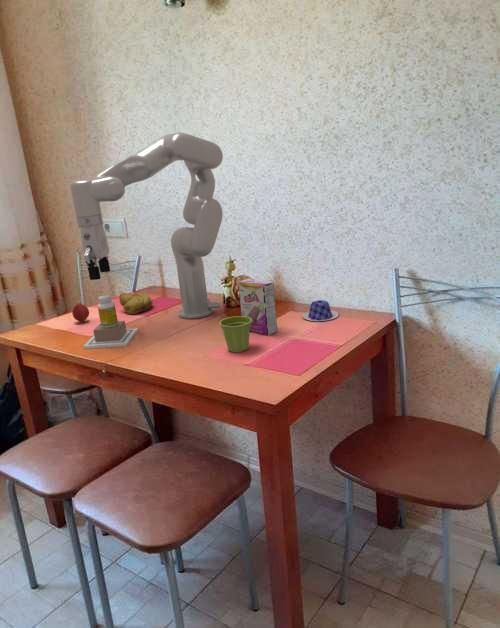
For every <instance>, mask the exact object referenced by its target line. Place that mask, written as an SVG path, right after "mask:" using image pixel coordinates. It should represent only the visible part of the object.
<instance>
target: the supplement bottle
mask: <svg viewBox="0 0 500 628" xmlns="http://www.w3.org/2000/svg"><path fill="white" fill-rule="evenodd" d="M97 311H98V315H99V322H100V323H101V326H102V327H103V328H109V327H114V326H116V325H117V324H118V321H119V320H118V315H117V309H116V304H115V302H113V301H112V296H111V295H108V294H106V295H100V296H98V305H97Z"/></svg>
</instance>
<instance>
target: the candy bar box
mask: <svg viewBox="0 0 500 628" xmlns="http://www.w3.org/2000/svg"><path fill="white" fill-rule="evenodd" d="M237 285H238V293H239V294H238V295H239V304H240V305H239V306H240V313H241V316H245V317H249V318H251V319H252V322H251V324H250V331H249V333H255V334H259V335H263V336H267V337H269V336H271V335H273V334H275V333H277V332H278V321H277V320H278V319H277V311H276V310H277V309H276V296H275V284H274V281H268V280H261V279H260V280H259V279H253V278H245V279H241V280H239V281H238V282H237Z"/></svg>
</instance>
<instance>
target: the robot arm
mask: <svg viewBox="0 0 500 628" xmlns="http://www.w3.org/2000/svg"><path fill="white" fill-rule="evenodd" d="M223 158H224V155H223V150H222V149H221V147H220V146H219V145H218V143H217V144H216V143H215V142H213V141H210V140H207V139H204V138H201V137H198V136H194V135H191V134H189V133H185V132H175V133H170V134H169V133H168V134H165V135H162V136H161V137H159V138H158V139H156V140H155V141H153V142H152V143H150V144H148V145H147V146H145V147H144V148H142V149H141V150H139V151H137V152H135V153H134V154H133V155H130V156H129V157H127V158H125V159H123V160H122V161H120V162H118V163H116V164H114V165H112V166H110V167H109V168H106V170H104V171H102V172H101V173H99V174H97V175H96V176H95V177H93V178H91V179H80V180H74V181H72V182H71V183H70V186H69V187H70V192H71V198H72V204H73V207H74V208H73V209H74V213H75V217H76V223H77V227H78V228H77V229H80V237H81V242H82V249H83V257H84V259H85V263H86V268H87V271H88V276H89V280H91V281H94V280H95V281H97V280H101V274H103V273H109V272H111V268H110V262H109V261H110V260H109V256H108V255H109V254H110V247H109V243H108V240H107V236H106V231H105V228H104V220H103V219H104V218H103V216H102V210H101V209H102V208H101V205H100V202H117V201H120V200H121V199H122V198H123V196H124V195H125V193H126V187H127V186H129V185H132V184H135V183H138V182H142V181H145V180H148V179H150V178H152V177H153V176H155V175H157V174H158V173H159V172H161V171H162V170H163V169H165V168H166V167H168V166H169V165H171V164H172V163H174V162H177V161H183V162H184V165H185V166H186V168H187V170H188V172H189V174H190V179H191V180H190V187H189V190H188V194H187V197H186V200H185V203H184V207H183V211H182V217H183V219H184V221H185V222H186V223H187V224H189V225H192V226H193V227H187V226H185V227H184V226H183V227H179V228H177V229H176V230H175V231H174V232H173V233H172V235H171V239H170V245H171V251H172V252H173V255H174V260H175V264H176V269H177V279H178V286H179V292H180V293H179V294H180V299H181V300H180V301H181V307H182V308H181V310H180V311H179V312H178V317H180V318H182V319H186V320H189V319H190V320H193V319H201V318H205V317H208V316H210V315H212V314H213V313H214V309H221V302H218V301H214V302H212V301H210V300H211V299H210V298H208V291H207V283H206V281H207V280H206V275H205V273H206V272H205V266H204V261H203V258H204V257H206V256H208V255H209V254H211V252H213V251H212V250H213V249H214V246H215V244H216V240H217V238H218V235H219V232H220V228H221V224H222V220H223V216H224V215H223V207H222V205H221V203H220V202H219V201H218V200H217V199H215V198H214V194H215V188H216V180H215V176H214V173H213V171H212V170H215V169H216V168H218V167H219V166H220V165H221V164H222V162H223Z"/></svg>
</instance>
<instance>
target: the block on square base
mask: <svg viewBox="0 0 500 628" xmlns="http://www.w3.org/2000/svg"><path fill="white" fill-rule="evenodd" d="M138 332H139V328H138V327H137V328H136V327H135V328H127V327H126V321H125V320H118V324H117V325H116V326H114V327H109V328H103V327H102V326H101V322H100V323H99V324H98V325H97V326H96V327H95V328H94V329H93V336H91V337H90V339H89V340H88V341H86V343H85V344H84V345H83V348H82V349H83V350H92V349H102V348H103V349H104V348H105V349H106V348H118V347H119V348H121V347H128V346H129V344H130V343H131V341H132V340H133V339H134V337H135V336H136V335H137V333H138Z"/></svg>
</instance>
